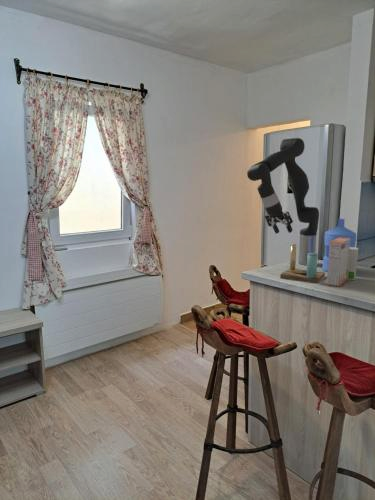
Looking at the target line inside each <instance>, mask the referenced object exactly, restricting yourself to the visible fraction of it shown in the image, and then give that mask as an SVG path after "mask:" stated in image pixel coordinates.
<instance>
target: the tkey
mask: <svg viewBox="0 0 375 500" xmlns="http://www.w3.org/2000/svg"><path fill="white" fill-rule="evenodd" d="M289 257H290V258H289V259H290V261H289V262H290V263H289V269H290V270H292V272H296V273H303V274H306V273H307V269H300V270H295V269H296V261H297V243H292V244H291V245H290V256H289Z"/></svg>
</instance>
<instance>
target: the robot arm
mask: <svg viewBox="0 0 375 500" xmlns="http://www.w3.org/2000/svg"><path fill="white" fill-rule="evenodd" d="M304 151H305V142H304V140H303V139H302V138H300V137H292V138H284V139H282V140H281V141H280V145H279V151H276V152H273V153H271V154H270V155H268V156H267V157H265V158H263V160H261V161H259V162H257V163H255V164H253V165H251V166H250V167H249V168H248V169H247V172H246V176H247V178H248V179H249V180H250V181H252V182H257V181H261V183H260V184H259V185H258V186H257V191H258V194H259V197H260V200H261V202H262V204H263V207H264V209H265V211H266V215H265V216H264V218H265V220H266V222H267V225H268V227H271V228H272V229H273V231H274V233H275V235H277V234H279V233H280V229H279V226H278V225H277V223H281V224H283V225H284V226H285V228H286V230H287V233H288V234H289V233H292V232H293V227H292V224H293V222H294V220H293V218H292V216H291V214H290V212H289V211H285V212H284V211H283V206H282V204H281V201H280V198H279V196H278V195H277V193H276V191H275V189H274V187H273V185H272V177H271V172H273V171H275V170H276V169H277V168H278V167H280V166H282V165H283V164H284V165H285V168H286V172H287V175H288V178H289V182H290V186H291V190H292V193H293V194H292V195H293V197H294V198H293V199H294V203H295V209H296V215H297V219H298V221H299V222H300V223H305V224H308V226H307V227H305V228H301V229H300V231H299V247H298V264H299V265H303V266H307V255H308V253H316V247H317V234H318V233H317V232H318V228H319V218H320V210H319V209H318V207H313V206H306V204H305V200H306V199H305V198H306V196H307V194H308V192H309V189H310V183H309V182H310V181H309V178H308V176H307V174H306V172H305V171H304V170H303V168H301V167H300V166H299V165H298V163H297V162H296V160H295V158H297V157H300V156H301V155H302V154H304Z"/></svg>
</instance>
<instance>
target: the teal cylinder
mask: <svg viewBox="0 0 375 500" xmlns="http://www.w3.org/2000/svg"><path fill="white" fill-rule="evenodd" d="M318 256H319V255H318V253H316V252H315V253H308V255H307V265H306V270H307V273H306V277H307V278H316V274H317V272H318V269H317V268H318V258H319V257H318Z"/></svg>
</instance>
